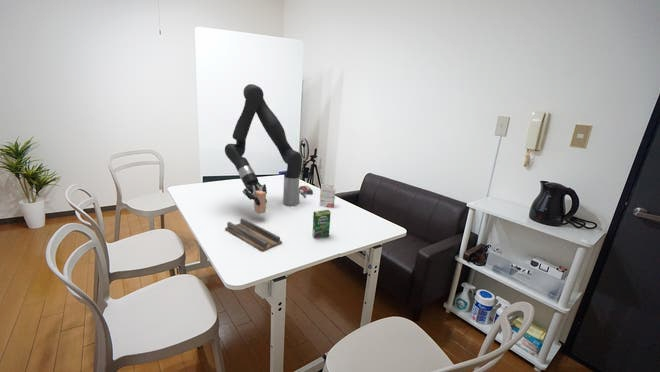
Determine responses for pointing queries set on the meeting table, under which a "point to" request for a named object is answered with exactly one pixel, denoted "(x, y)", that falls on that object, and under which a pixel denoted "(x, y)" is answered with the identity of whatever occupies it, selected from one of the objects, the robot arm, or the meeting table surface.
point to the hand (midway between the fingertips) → (262, 203)
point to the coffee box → (321, 223)
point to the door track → (253, 235)
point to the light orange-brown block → (262, 200)
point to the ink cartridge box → (327, 195)
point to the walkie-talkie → (305, 190)
